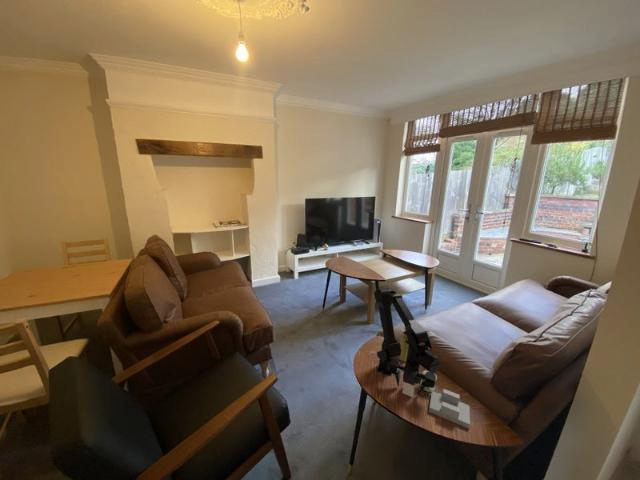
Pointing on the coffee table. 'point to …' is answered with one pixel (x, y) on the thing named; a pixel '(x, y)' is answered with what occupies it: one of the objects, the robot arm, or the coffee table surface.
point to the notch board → (462, 407)
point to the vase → (403, 347)
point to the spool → (429, 387)
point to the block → (408, 389)
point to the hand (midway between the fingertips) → (408, 389)
